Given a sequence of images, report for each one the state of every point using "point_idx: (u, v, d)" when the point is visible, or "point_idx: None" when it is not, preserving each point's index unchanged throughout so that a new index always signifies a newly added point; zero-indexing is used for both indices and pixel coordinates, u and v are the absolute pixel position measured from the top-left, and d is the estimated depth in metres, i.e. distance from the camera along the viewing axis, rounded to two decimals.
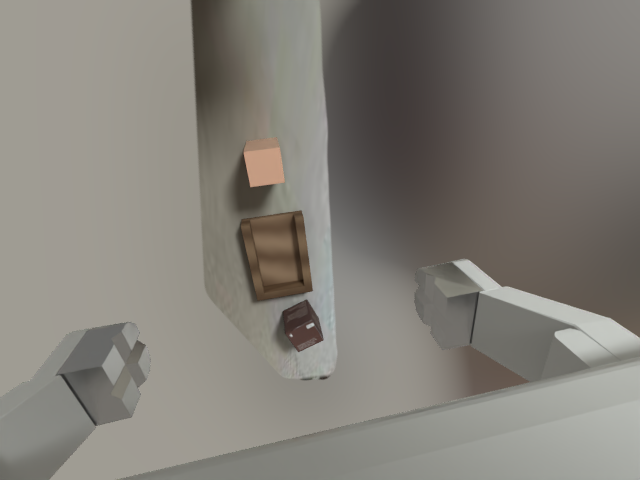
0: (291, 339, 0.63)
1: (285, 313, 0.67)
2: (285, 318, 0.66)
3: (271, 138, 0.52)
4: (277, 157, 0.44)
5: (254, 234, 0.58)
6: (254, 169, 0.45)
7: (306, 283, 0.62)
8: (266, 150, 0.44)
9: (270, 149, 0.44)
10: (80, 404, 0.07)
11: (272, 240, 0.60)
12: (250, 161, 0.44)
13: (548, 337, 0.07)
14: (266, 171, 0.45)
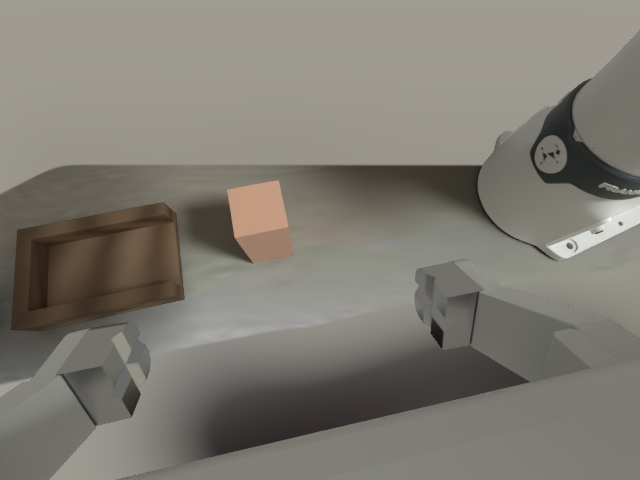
0: None
1: None
2: None
3: None
4: (273, 224, 0.29)
5: (148, 228, 0.38)
6: (254, 194, 0.30)
7: (32, 314, 0.33)
8: (282, 209, 0.30)
9: (284, 214, 0.30)
10: (80, 404, 0.07)
11: (135, 255, 0.37)
12: (265, 189, 0.30)
13: (548, 337, 0.07)
14: (251, 210, 0.30)
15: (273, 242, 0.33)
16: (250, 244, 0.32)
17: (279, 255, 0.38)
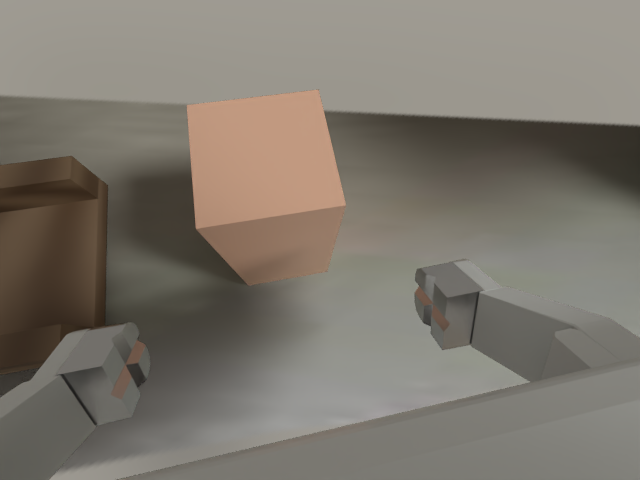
0: None
1: None
2: None
3: None
4: (304, 196, 0.11)
5: (46, 208, 0.20)
6: (257, 119, 0.12)
7: None
8: (330, 159, 0.11)
9: (334, 173, 0.11)
10: (80, 404, 0.07)
11: (11, 261, 0.18)
12: (284, 108, 0.12)
13: (548, 337, 0.07)
14: (246, 157, 0.11)
15: (295, 246, 0.14)
16: (240, 249, 0.13)
17: (301, 272, 0.19)
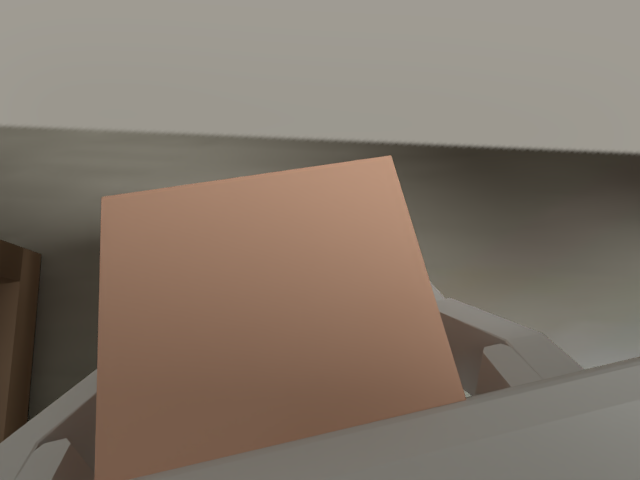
0: None
1: None
2: None
3: None
4: None
5: None
6: (261, 230, 0.05)
7: None
8: (434, 333, 0.05)
9: (448, 372, 0.05)
10: None
11: None
12: (321, 202, 0.05)
13: None
14: (235, 335, 0.05)
15: None
16: None
17: None
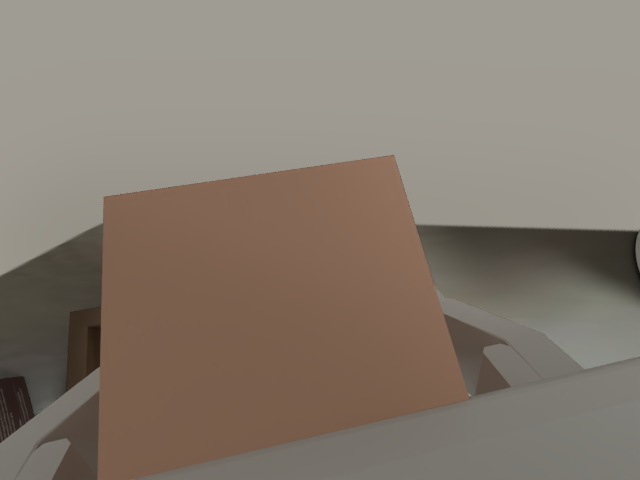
0: None
1: (13, 383, 0.27)
2: None
3: None
4: None
5: None
6: (264, 230, 0.05)
7: None
8: (437, 333, 0.05)
9: (451, 372, 0.05)
10: None
11: None
12: (324, 202, 0.05)
13: None
14: (238, 336, 0.05)
15: None
16: None
17: None
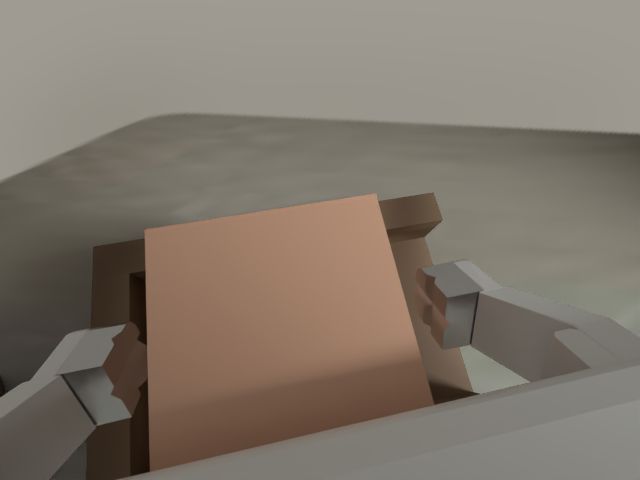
0: None
1: None
2: None
3: None
4: None
5: None
6: (271, 256, 0.07)
7: None
8: (406, 338, 0.06)
9: (417, 368, 0.06)
10: (80, 404, 0.07)
11: None
12: (319, 233, 0.07)
13: (548, 337, 0.07)
14: (253, 339, 0.06)
15: None
16: None
17: None
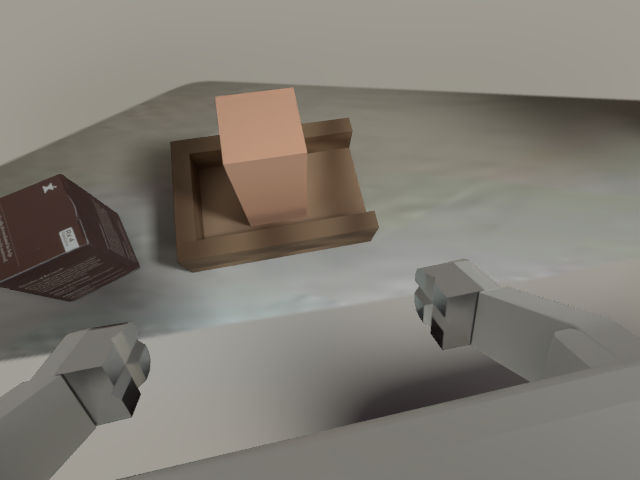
0: (32, 189, 0.21)
1: (112, 212, 0.27)
2: (100, 203, 0.26)
3: None
4: (283, 147, 0.19)
5: (319, 153, 0.31)
6: (256, 105, 0.20)
7: (202, 243, 0.25)
8: (298, 127, 0.20)
9: (301, 135, 0.19)
10: (80, 404, 0.07)
11: (307, 184, 0.30)
12: (272, 98, 0.20)
13: (548, 337, 0.07)
14: (251, 126, 0.19)
15: (280, 185, 0.22)
16: (246, 185, 0.21)
17: (287, 215, 0.27)
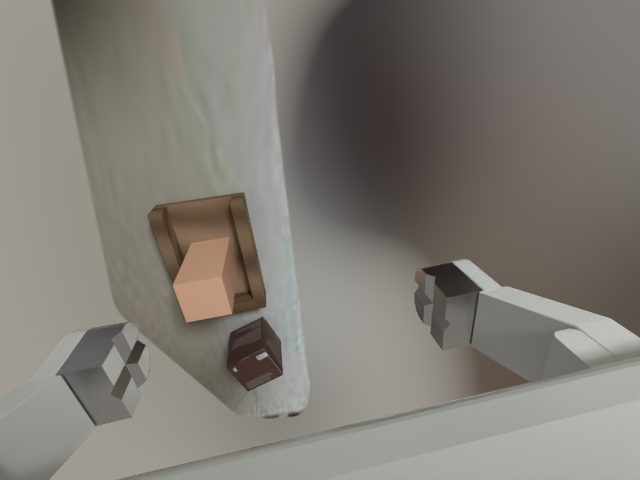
0: (236, 375, 0.45)
1: (232, 336, 0.49)
2: (231, 343, 0.47)
3: (222, 239, 0.42)
4: (219, 288, 0.34)
5: (175, 228, 0.40)
6: (189, 302, 0.34)
7: (255, 297, 0.44)
8: (203, 281, 0.33)
9: (209, 279, 0.33)
10: (80, 404, 0.07)
11: (203, 236, 0.41)
12: (183, 295, 0.33)
13: (548, 336, 0.07)
14: (206, 304, 0.34)
15: (228, 273, 0.37)
16: (232, 293, 0.38)
17: (231, 251, 0.42)
